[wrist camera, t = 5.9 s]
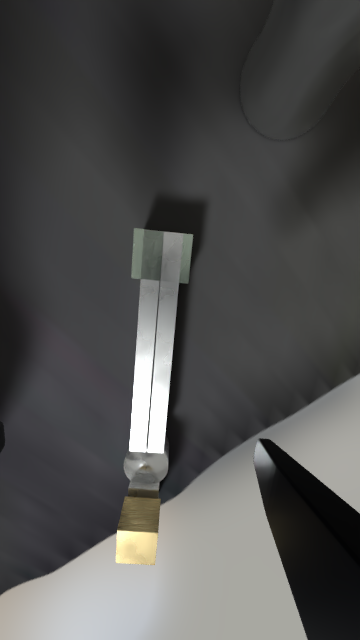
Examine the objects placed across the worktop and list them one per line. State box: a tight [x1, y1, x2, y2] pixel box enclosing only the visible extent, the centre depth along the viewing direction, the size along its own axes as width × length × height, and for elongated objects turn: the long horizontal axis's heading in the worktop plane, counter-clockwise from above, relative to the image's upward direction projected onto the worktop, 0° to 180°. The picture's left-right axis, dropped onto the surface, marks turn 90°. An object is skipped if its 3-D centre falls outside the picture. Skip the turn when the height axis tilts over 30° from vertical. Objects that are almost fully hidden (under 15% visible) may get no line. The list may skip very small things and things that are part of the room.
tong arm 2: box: [148, 232, 193, 453], centre depth 17 cm, size 16×2×3 cm, turn 175°
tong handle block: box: [124, 435, 169, 499], centre depth 20 cm, size 7×4×3 cm, turn 174°
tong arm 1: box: [130, 228, 164, 452], centre depth 17 cm, size 16×2×3 cm, turn 174°
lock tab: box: [116, 497, 160, 565], centre depth 17 cm, size 3×3×2 cm
